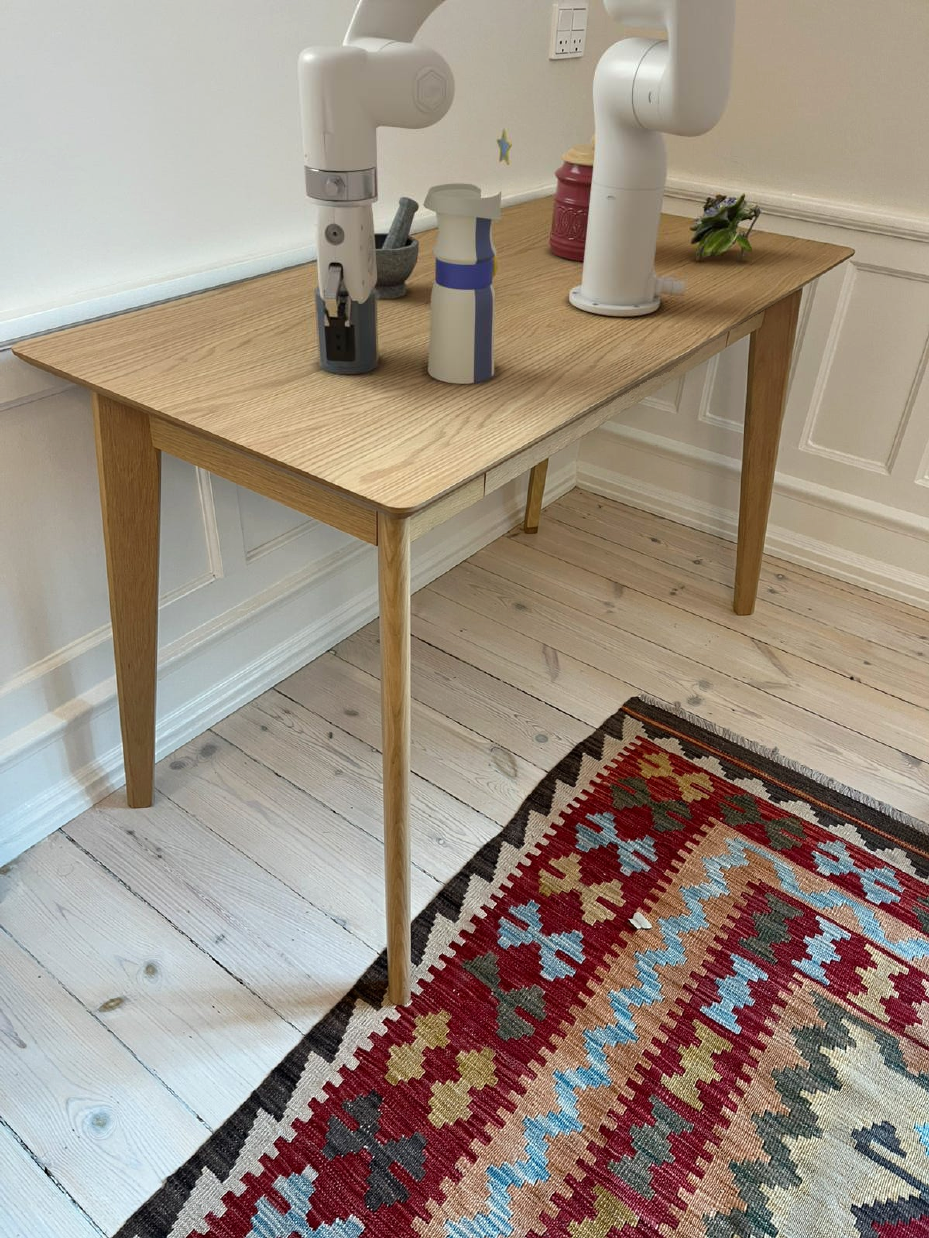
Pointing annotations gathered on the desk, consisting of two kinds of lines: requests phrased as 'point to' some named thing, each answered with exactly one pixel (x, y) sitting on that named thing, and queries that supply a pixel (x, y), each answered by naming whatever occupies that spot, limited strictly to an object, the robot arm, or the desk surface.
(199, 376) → the desk surface
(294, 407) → the desk surface
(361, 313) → the blue cup
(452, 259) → the water bottle
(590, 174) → the kitchen canister
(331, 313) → the robot arm
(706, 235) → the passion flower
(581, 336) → the desk surface
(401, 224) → the mortar and pestle
